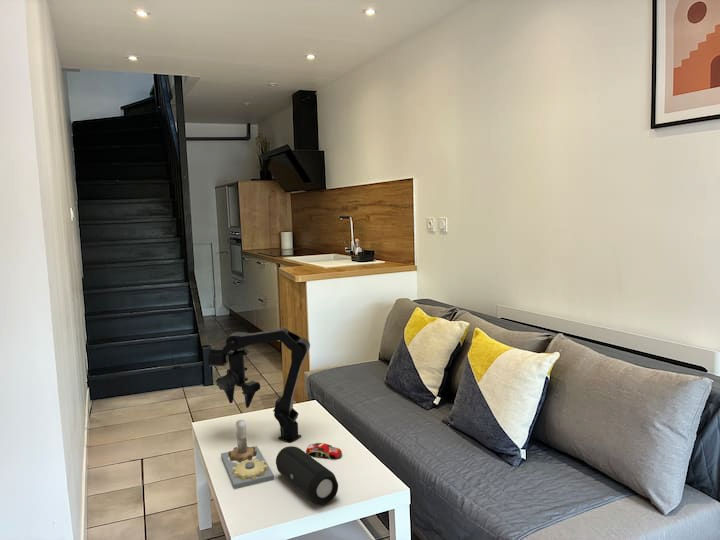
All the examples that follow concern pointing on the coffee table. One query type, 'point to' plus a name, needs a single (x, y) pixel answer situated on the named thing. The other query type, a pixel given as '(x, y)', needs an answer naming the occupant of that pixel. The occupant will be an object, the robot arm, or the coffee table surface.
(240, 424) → the walnut gear
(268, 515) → the coffee table surface
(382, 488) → the coffee table surface
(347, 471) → the coffee table surface
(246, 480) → the gear board
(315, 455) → the race car
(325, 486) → the portable speaker
